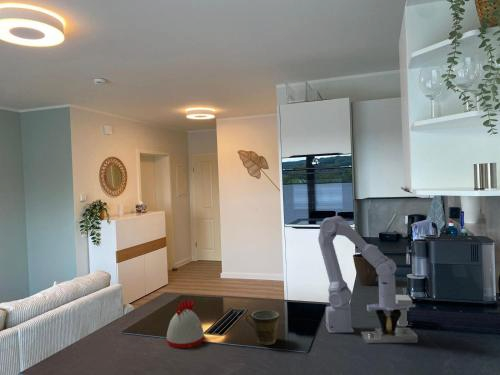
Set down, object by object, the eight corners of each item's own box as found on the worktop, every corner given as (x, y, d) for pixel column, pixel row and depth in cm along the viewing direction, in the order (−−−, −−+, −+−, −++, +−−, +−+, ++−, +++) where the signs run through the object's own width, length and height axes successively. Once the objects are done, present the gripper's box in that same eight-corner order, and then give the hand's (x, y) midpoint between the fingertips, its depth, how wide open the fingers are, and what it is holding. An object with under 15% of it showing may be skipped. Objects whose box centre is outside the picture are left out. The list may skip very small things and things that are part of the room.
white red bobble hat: (211, 339, 144) (210, 299, 144) (181, 351, 134) (180, 308, 134) (188, 330, 153) (187, 293, 153) (159, 341, 143) (158, 301, 143)
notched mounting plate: (366, 343, 135) (366, 334, 135) (361, 334, 143) (360, 327, 143) (417, 342, 135) (417, 334, 135) (409, 334, 142) (409, 326, 142)
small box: (413, 327, 149) (412, 300, 149) (398, 326, 150) (397, 299, 150) (409, 320, 157) (408, 294, 157) (394, 319, 158) (394, 294, 158)
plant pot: (349, 281, 221) (348, 254, 221) (374, 279, 223) (373, 252, 223) (359, 288, 206) (359, 258, 206) (386, 286, 208) (385, 257, 208)
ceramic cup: (283, 338, 142) (282, 311, 142) (273, 349, 133) (273, 320, 133) (252, 333, 148) (251, 307, 148) (240, 343, 139) (239, 316, 139)
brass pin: (385, 336, 137) (385, 317, 137) (383, 333, 140) (382, 314, 140) (394, 336, 137) (393, 317, 137) (391, 333, 140) (390, 314, 140)
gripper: (370, 296, 135) (371, 335, 135) (411, 295, 134) (412, 334, 135) (364, 291, 142) (365, 327, 142) (404, 290, 142) (405, 326, 142)
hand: (388, 330), depth 139 cm, fingers closed on brass pin, 3 cm apart
